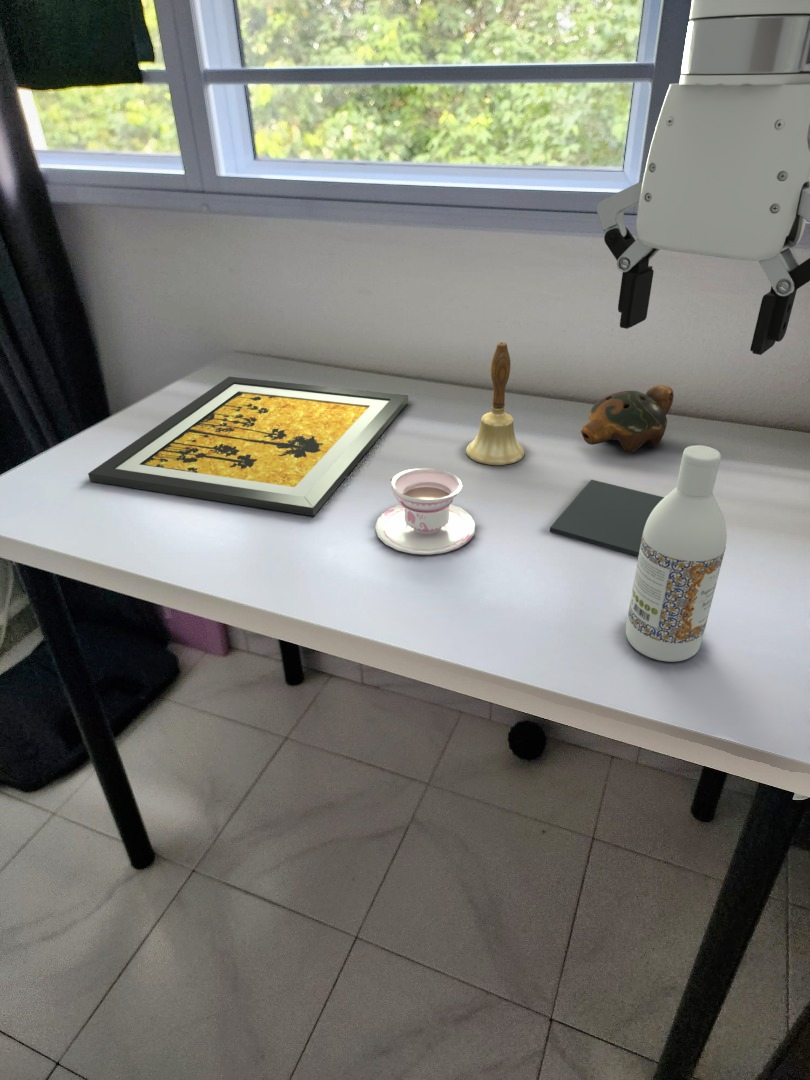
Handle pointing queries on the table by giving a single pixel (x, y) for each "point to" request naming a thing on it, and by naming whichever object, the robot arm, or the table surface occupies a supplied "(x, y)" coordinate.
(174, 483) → the picture frame
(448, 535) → the teacup
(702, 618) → the bath foam
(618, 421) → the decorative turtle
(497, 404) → the hand bell
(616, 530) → the mat
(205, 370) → the table surface
